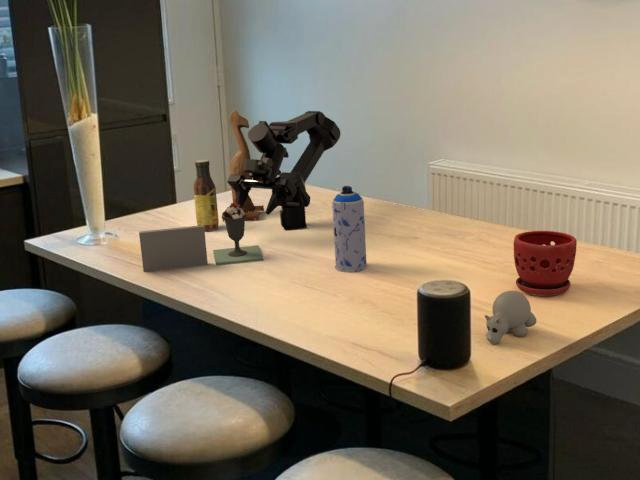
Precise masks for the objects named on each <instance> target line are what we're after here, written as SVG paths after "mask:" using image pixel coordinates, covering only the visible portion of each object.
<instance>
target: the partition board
mask: <svg viewBox="0 0 640 480" xmlns="http://www.w3.org/2000/svg"><path fill="white" fill-rule="evenodd" d="M205 232H206V231H205V230H204V225H199V226H198V225H191V226H181V227H180V226H179V227H171V228H159V229H150V230H141V231H138V235H139V243H140V244H139V245H140V253H141V262H142V269H143V272H151V271H152V272H155V271H161V270H172V269H183V268H191V267H201V266H208V265H209V262H208V261H209V260H208V254H207V253H208V251H207V244H206V241H207V240H206V233H205Z"/></svg>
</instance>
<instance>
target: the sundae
mask: <svg viewBox="0 0 640 480" xmlns="http://www.w3.org/2000/svg"><path fill="white" fill-rule="evenodd" d="M236 197H238V196H236ZM235 200H236V199H235ZM234 202H235V201H234ZM234 202H233V201H232V203H230V205H229V206H227V207H228V208H227V207H226V209H227V210H226V209H225V210H226V211H225V210H224V211H223V212H222V213H221V219H222V221H223V220H224V223H225V226H226V233H227V236H228V238H229V239H230V240H232V241H233V242H234V248H235V249H234V251H232V252H230V253H229V254H228V255H229V256H232V257H239V256H244V255H246V254H247V251H243V250H241V249H240V247H241V246H240V241H241V240H242V239H243V238H244V235H245V227H246V226H245V224H246V223H245V222H246V221H245V218H246V217H247V214H244V211H243V210H242V209H241V208H240V205H239V204H236V205H235V203H234ZM237 203H238V199H237ZM222 214H223V216H222Z"/></svg>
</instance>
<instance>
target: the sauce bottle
mask: <svg viewBox="0 0 640 480" xmlns="http://www.w3.org/2000/svg"><path fill="white" fill-rule="evenodd" d="M210 165H211V164H210V160H209V159H199V160H198V159H197V160H196V161H195V162H194V166H195V170H196V179H195V181H194V183H193V191H194V194H193V197H194V207H195V208H194V209H195V218H196V226H199V225H204V230H205V232H211V231H214V230H217V229H219V223H220V222H219V221H220V220H219V213H218V199H217V190H216V185H215V182H214V180H213V178H212V176H211V173H210Z"/></svg>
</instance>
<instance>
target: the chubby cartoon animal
mask: <svg viewBox="0 0 640 480" xmlns="http://www.w3.org/2000/svg"><path fill="white" fill-rule="evenodd" d="M531 310H532V309H531V303H530V301H529V299H528V298H527V297H526V296H525V295H524V293H522V292H520V291H516V290H506V291H503V292H501V293H500V294H498V296H497V297H496V298H495V299H494V301H493V304H492V316H491V315H490V316H489V315H487V314H485V315H484V318H485V319H486V324H485V325H486V329H487V331H485V338H486V340H487V341H488V342H489V343H490V344H492V345H497V344H499V343H500V342H501V341H502V338H503V336H504V335H505V334H509V333H512V332H513V333H514V335H515V336H516V337H517V338H522V337H525V336H527V335H528V331H529V330H528V328H532V327H534V326H535V325H536V324H537V317H536V315H534V313H533V312H531Z"/></svg>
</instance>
